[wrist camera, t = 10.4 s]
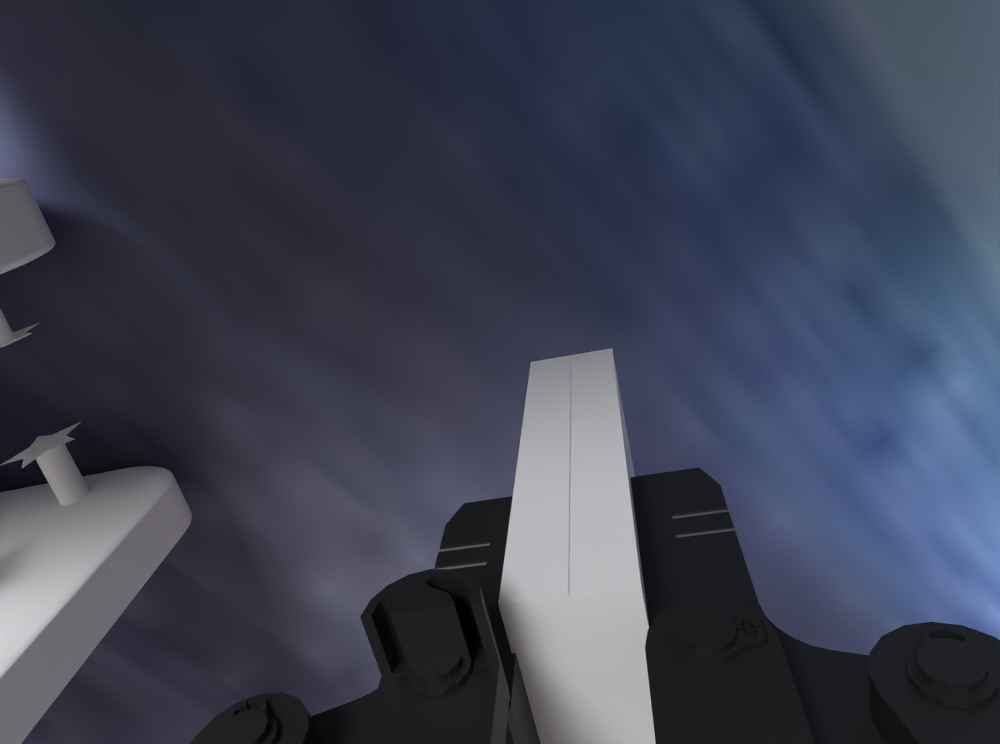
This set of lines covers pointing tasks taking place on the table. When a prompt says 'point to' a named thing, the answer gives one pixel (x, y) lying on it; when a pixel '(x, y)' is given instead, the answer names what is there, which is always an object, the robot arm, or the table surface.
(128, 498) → the cable organizer
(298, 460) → the table surface
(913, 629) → the robot arm
